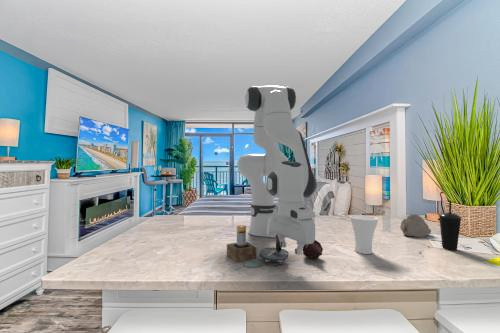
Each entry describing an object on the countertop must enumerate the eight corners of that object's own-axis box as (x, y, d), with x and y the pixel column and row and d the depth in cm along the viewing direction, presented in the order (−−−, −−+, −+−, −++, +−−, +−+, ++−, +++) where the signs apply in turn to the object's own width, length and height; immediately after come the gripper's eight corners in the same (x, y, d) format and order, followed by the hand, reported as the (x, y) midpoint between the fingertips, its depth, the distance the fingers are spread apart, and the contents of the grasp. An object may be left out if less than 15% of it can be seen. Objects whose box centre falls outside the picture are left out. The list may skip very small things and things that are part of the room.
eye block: (246, 251, 100) (246, 241, 100) (256, 258, 93) (256, 247, 93) (226, 254, 97) (226, 244, 97) (235, 262, 90) (235, 250, 90)
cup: (355, 245, 110) (356, 213, 110) (382, 251, 103) (382, 217, 103) (344, 251, 103) (345, 217, 103) (372, 258, 95) (372, 221, 95)
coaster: (255, 260, 91) (255, 259, 91) (263, 266, 86) (263, 264, 86) (241, 263, 89) (241, 261, 89) (248, 268, 84) (248, 267, 84)
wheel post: (276, 257, 94) (276, 253, 94) (286, 263, 89) (286, 259, 89) (261, 260, 92) (262, 256, 92) (271, 266, 86) (271, 262, 86)
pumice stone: (408, 237, 124) (408, 216, 124) (396, 233, 132) (397, 214, 132) (435, 236, 127) (435, 216, 127) (422, 232, 134) (423, 213, 134)
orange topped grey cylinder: (243, 254, 97) (243, 225, 97) (247, 257, 94) (247, 227, 94) (234, 255, 96) (235, 225, 96) (238, 258, 93) (239, 227, 93)
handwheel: (281, 262, 83) (282, 243, 83) (254, 257, 88) (254, 238, 88) (292, 253, 92) (292, 236, 92) (267, 249, 97) (267, 232, 97)
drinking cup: (458, 247, 110) (458, 200, 110) (464, 252, 103) (464, 202, 103) (436, 245, 113) (436, 198, 113) (440, 250, 106) (441, 201, 106)
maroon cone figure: (333, 246, 88) (315, 238, 103) (313, 241, 87) (297, 233, 102) (329, 267, 87) (311, 255, 102) (308, 262, 86) (293, 251, 101)
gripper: (266, 205, 95) (266, 243, 95) (302, 215, 77) (302, 261, 77) (280, 204, 98) (280, 241, 98) (319, 213, 80) (318, 258, 80)
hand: (290, 250), depth 88 cm, fingers open, 7 cm apart
